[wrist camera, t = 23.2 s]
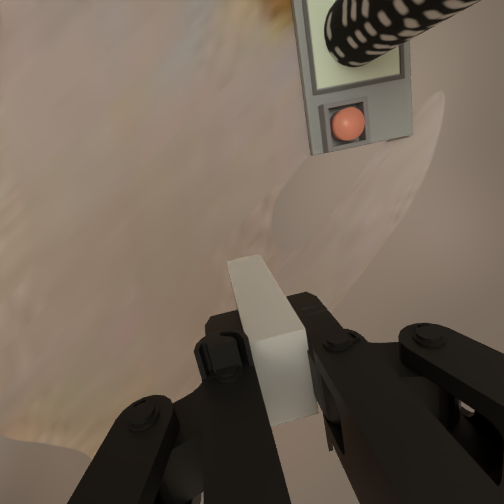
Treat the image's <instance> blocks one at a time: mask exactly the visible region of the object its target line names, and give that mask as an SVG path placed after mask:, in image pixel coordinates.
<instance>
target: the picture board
mask: <svg viewBox="0 0 504 504" xmlns="http://www.w3.org/2000/svg"><path fill="white" fill-rule="evenodd" d="M335 1H336V0H291V5H292V13H293V21H294V29H295V36H296V44H297V52H298V60H299V68H300V75H301V83H302V91H303V99H304V107H305V115H306V122H307V130H308V138H309V146H310V154H311V155H317V154H322V153H327V152H333V151H338V150H342V149H347V148H352V147H357V146H361V145H366V144H371V143H375V142H380V141H385V140H390V139H394V138H399V137H404V136H409V135H413V129H412V98H411V66H410V40H408V41H407V42H405V43H403V44H401V45H399V46H398V47H396V48H394V49H392V50H390V51H389V52H387V53H385V54H383V55H381V56H380V57H378V58H376V59H374V60H373V61H371V62H369V63H367V64H365V65H363V66H360V67H347V66H344V65H342V64H340V63H338V62H337V61H336V60H335V59H334V58H333V57H332V56H331V54H330V53H329V51H328V49H327V46H326V43H325V39H324V24H325V20H326V16H327V14H328V11H329V9H330V8H331V6H332V5H333V3H334V2H335ZM348 107H355V108H357V109H359V110H360V111H361V112H362V114H363V116H364V119H365V126H364V129H363V132H362V133H361V134H360V136H359V137H357V138H356V139H353V140H347V141H338V140H335V139H334V138H333V137H332V136H331V128H330V118H331V116H332V115H333V114H334V113H335V112H337V111H339V110H342V109H345V108H348Z"/></svg>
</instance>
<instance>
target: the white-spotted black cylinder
mask: <svg viewBox="0 0 504 504" xmlns="http://www.w3.org/2000/svg"><path fill="white" fill-rule="evenodd" d="M479 1H480V0H336V1H335V2H334V3H333V5H332V6H331V8H330V9H329V11H328V14H327V16H326V20H325V24H324V39H325V43H326V46H327V49H328V51H329V53H330V54H331V56H332V57H333V58H334V59H335V60H336V61H337V62H338V63H340V64H342V65H344V66H347V67H360V66H363V65H365V64H367V63H369V62H371V61H373V60H374V59H376V58H378V57H380V56H381V55H383V54H385V53H387V52H389V51H390V50H392V49H394V48H396V47H398V46H399V45H401V44H403V43H405V42H407V41H408V40H410V39H412V38H414V37H415V36H417V35H419V34H421V33H423V32H425V31H426V30H428V29H430V28H432V27H433V26H435V25H437V24H439V23H441V22H442V21H444V20H446V19H448V18H450V17H452V16H453V15H455V14H457V13H459V12H461V11H462V10H464V9H466V8H468V7H470V6H471V5H473V4H475V3H477V2H479Z"/></svg>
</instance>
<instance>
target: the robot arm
mask: <svg viewBox="0 0 504 504" xmlns="http://www.w3.org/2000/svg"><path fill="white" fill-rule="evenodd" d="M226 262H227V266H228V271H229V275H230V280H231V284H232V288H233V293H234V297H235V301H236V306H237V310H235V311H231V312H227V313H223V314H219V315H215V316H211V317H210V318H209V320H208V321H207V323H206V325H205V334H206V336H205V337H203V338H202V339H201V340H200V341H199V342H198V343H197V344H196V346H195V349H194V354H195V357H196V361H197V364H198V368H199V371H200V374H201V378H202V383H201V385H200V386H199V387H198V388H197V389H196V390H194V391H193V392H192V393H190V394H189V395H187V396H186V397H184V398H182V399H180V400H178V401H176V402H174V403H172V402H171V399H169V398H167V397H166V396H164V395H152V396H148V397H144V398H142V399H140V400H138V401H136V402H134V403H132V404H131V405H130V406H128V407H127V408H126V409H125V410H123V411H122V413H121V414H120V415H119V416H118V418H117V419H116V420H115V422H114V424H113V426H112V427H111V429H110V431H109V432H108V434H107V436H106V438H105V439H104V441H103V443H102V444H101V446H100V448H99V450H98V451H97V453H96V455H95V456H94V458H93V460H92V462H91V463H90V465H89V467H88V469H87V470H86V472H85V474H84V475H83V477H82V479H81V480H80V482H79V484H78V486H77V487H76V489H75V491H74V493H73V494H72V496H71V498H70V499H69V501H68V503H67V504H200V502H201V493H202V492H203V491H204V504H291V501H290V497H289V493H288V489H287V486H286V482H285V478H284V474H283V471H282V467H281V463H280V460H279V456H278V452H277V448H276V444H275V441H274V437H273V434H272V429H271V427H273V426H276V425H280V424H283V423H287V422H290V421H294V420H297V419H300V418H304V417H308V416H311V415H315V414H318V413H319V412H318V405H317V401H318V403H319V405H320V407H321V410H322V412H323V417H324V424H325V430H326V437H327V443H328V447H329V451H332V450H333V446H334V448H335V450H336V453H337V455H338V457H339V459H340V461H341V464H342V466H343V468H344V470H345V472H346V474H347V477H348V479H349V481H350V483H351V485H352V488H353V490H354V492H355V494H356V496H357V499H358V501H359V503H360V504H504V354H503V353H501V352H499V351H497V350H494V349H492V348H490V347H488V346H486V345H484V344H481V343H479V342H477V341H475V340H473V339H471V338H469V337H467V336H464V335H462V334H460V333H458V332H456V331H454V330H451V329H450V328H447V327H444V326H441V325H438V324H431V323H418V324H417V323H416V324H412V325H409V326H406V327H405V328H403V329H402V330H401V331H400V333H399V336H398V337H399V342H390V343H370V342H367V341H366V339H365V338H364V337H363V336H361V335H360V334H359V333H357V332H355V331H352V330H349V329H343V328H342V327H341V325H340V324H339V323H338V322H337V320H336V319H335V318H334V317H333V316H332V314H331V313H330V312H329V311H327V308H326V307H325V306H324V305H323V304H322V302H321V301H320V300H319V299H318V298H317V296H315V295H312V294H310V293H308V292H303V293H299V294H295V295H291V296H287V297H286V296H285V295H284V293H283V291H282V290H281V288H280V287H279V285H278V283H277V282H276V280H275V278H274V277H273V275H272V273H271V272H270V270H269V269H268V267H267V265H266V264H265V262H264V260H263V259H262V257H261V256H260V254H254V255H250V256H246V257H242V258H237V259H233V260H229V261H226ZM461 401H462V402H463V403H465V404H466V405H468V406H470V407H471V408H472V409H474V410H475V412H474V413H473V412H470V411H468V410H466V409H464V408H463V407H462V406H461ZM332 444H333V445H332Z"/></svg>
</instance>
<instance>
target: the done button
mask: <svg viewBox="0 0 504 504" xmlns="http://www.w3.org/2000/svg"><path fill="white" fill-rule="evenodd" d="M364 126H365V119H364V116H363V114H362V112H361V111H360V110H359V109H357V108H355V107H348V108H345V109H342V110H339V111H337V112H335V113H334V114H333V115H332V116H331V118H330V128H331V136H332V137H333V138H334V139H335V140H338V141H347V140H353V139H356V138H357V137H359V136H360V134H361V133H362V132H363V129H364Z"/></svg>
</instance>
